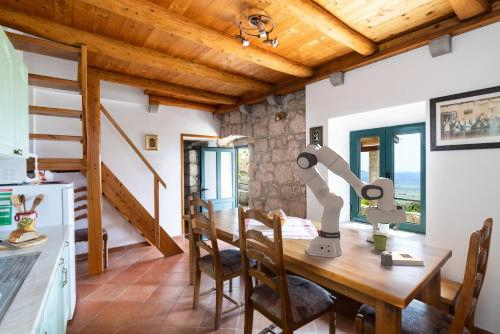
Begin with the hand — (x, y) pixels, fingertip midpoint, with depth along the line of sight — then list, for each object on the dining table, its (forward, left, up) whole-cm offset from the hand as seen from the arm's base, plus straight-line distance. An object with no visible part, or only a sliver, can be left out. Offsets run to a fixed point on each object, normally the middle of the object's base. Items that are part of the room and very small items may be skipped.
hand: (386, 230), depth 138 cm
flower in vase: (+8, +42, -19) cm, 47 cm away
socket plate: (+11, +6, -19) cm, 23 cm away
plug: (0, -1, -19) cm, 19 cm away
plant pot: (+6, +25, -19) cm, 32 cm away
